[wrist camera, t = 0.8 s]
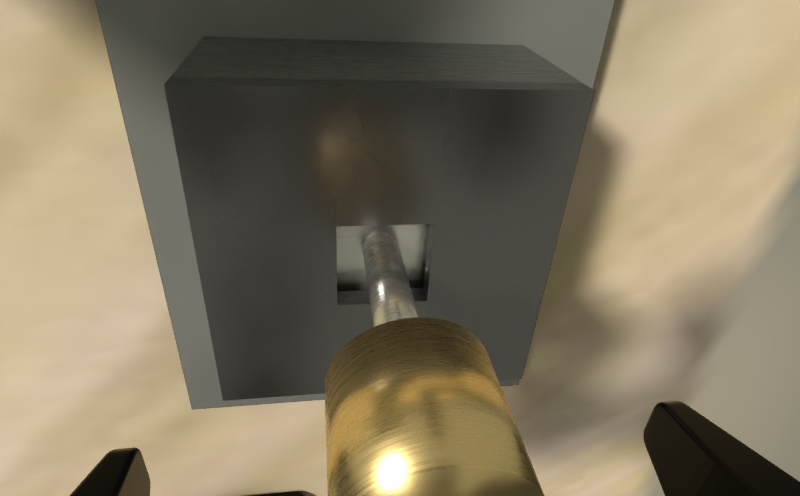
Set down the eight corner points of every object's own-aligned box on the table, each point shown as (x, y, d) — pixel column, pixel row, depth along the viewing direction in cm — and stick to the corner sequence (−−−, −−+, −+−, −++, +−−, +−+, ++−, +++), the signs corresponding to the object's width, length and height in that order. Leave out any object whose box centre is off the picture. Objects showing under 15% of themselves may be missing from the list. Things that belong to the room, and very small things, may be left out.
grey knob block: (481, 289, 20) (521, 378, 16) (240, 301, 19) (222, 400, 15) (523, 45, 15) (594, 90, 12) (203, 36, 14) (163, 84, 10)
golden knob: (436, 286, 16) (535, 583, 9) (314, 292, 15) (318, 612, 8) (448, 176, 14) (589, 446, 7) (309, 178, 13) (310, 474, 6)
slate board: (510, 368, 24) (518, 385, 24) (196, 390, 22) (192, 409, 21) (640, -183, 14) (662, -189, 13) (55, -241, 11) (35, -253, 11)
